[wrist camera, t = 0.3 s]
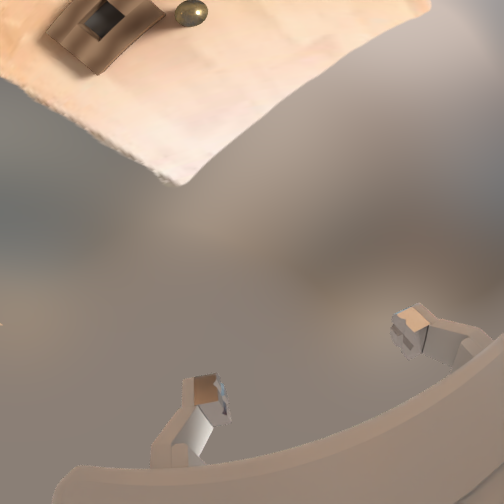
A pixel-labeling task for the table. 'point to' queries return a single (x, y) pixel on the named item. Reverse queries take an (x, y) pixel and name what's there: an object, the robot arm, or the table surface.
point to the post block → (102, 29)
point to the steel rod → (191, 13)
